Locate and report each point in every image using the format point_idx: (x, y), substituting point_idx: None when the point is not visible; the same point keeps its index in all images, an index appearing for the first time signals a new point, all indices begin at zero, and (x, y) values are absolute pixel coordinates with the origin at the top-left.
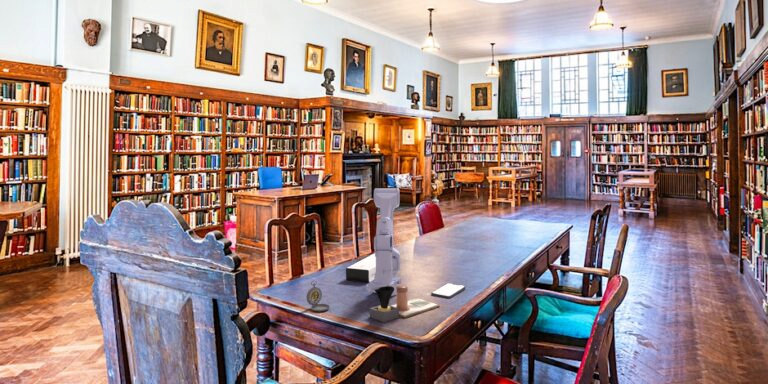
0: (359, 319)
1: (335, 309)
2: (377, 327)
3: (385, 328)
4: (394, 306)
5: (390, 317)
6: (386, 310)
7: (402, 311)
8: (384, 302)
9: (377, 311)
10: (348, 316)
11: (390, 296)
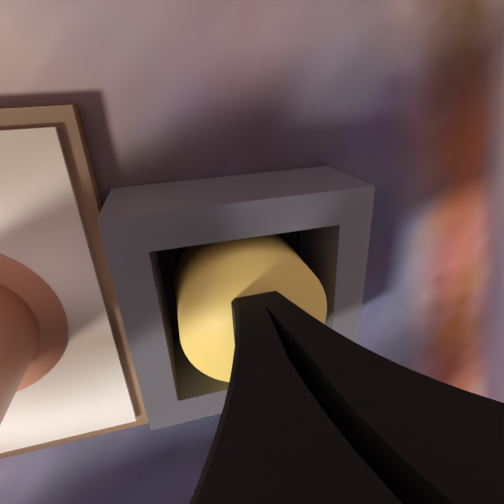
0: (402, 320)
1: None
2: (445, 95)
3: (423, 13)
4: (13, 416)
5: (244, 180)
6: (280, 251)
7: (6, 258)
8: (329, 330)
9: (364, 281)
10: None
11: (242, 399)
